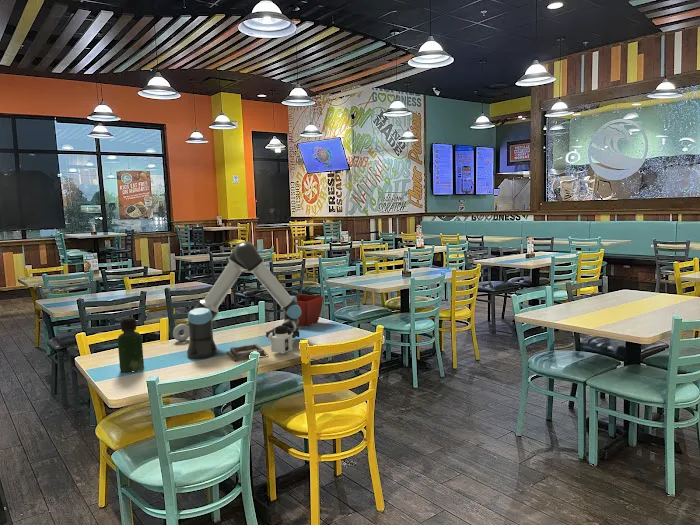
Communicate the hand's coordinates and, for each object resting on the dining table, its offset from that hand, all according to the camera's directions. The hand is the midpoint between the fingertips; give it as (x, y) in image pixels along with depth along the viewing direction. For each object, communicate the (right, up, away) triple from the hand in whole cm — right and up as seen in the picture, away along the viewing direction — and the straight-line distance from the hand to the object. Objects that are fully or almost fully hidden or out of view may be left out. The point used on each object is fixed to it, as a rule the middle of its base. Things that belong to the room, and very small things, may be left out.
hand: (279, 338), depth 255 cm
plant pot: (+6, -1, +70) cm, 70 cm away
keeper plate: (-17, -9, +5) cm, 20 cm away
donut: (-61, -7, +37) cm, 72 cm away
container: (0, -7, +5) cm, 9 cm away
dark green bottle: (-68, -13, -13) cm, 71 cm away
